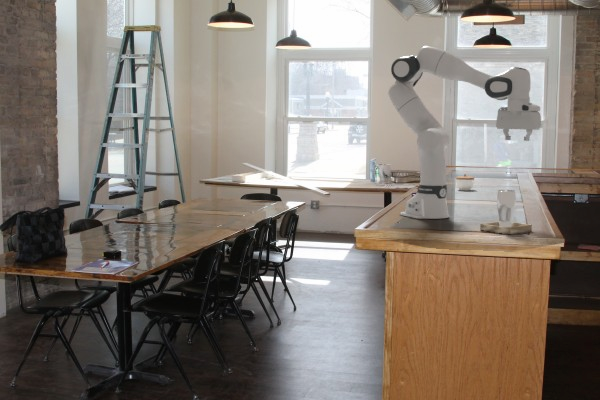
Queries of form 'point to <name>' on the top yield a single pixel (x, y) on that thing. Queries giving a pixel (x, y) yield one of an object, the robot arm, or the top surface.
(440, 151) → the robot arm
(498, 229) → the oak tray
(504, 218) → the beer glass
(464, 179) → the lidded jar
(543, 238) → the top surface
